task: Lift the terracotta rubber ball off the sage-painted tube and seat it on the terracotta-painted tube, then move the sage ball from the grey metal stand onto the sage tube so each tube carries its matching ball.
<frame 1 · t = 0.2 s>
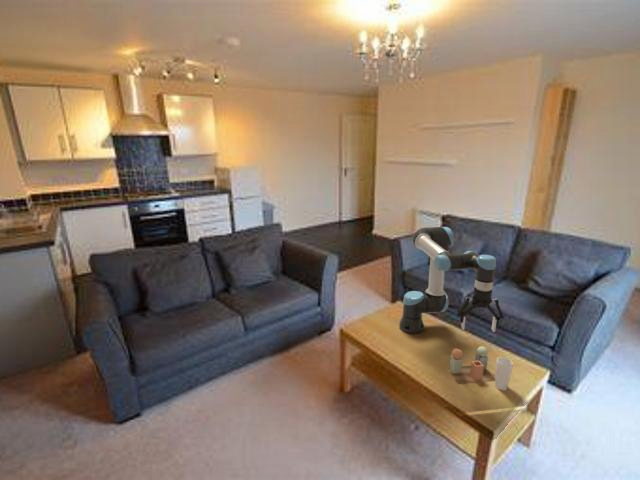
hand: (477, 329, 160), 27 cm above the table, fingers open, 13 cm apart
drinking glass: (500, 388, 159), on the table
sage ball: (481, 355, 169), point 9 cm above the table, touching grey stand
sage tube: (455, 370, 170), resting on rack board
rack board: (470, 375, 168), on the table
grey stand: (480, 368, 171), resting on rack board
terracotta tube: (475, 377, 165), resting on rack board
terracotta ball: (456, 358, 168), point 9 cm above the table, touching sage tube
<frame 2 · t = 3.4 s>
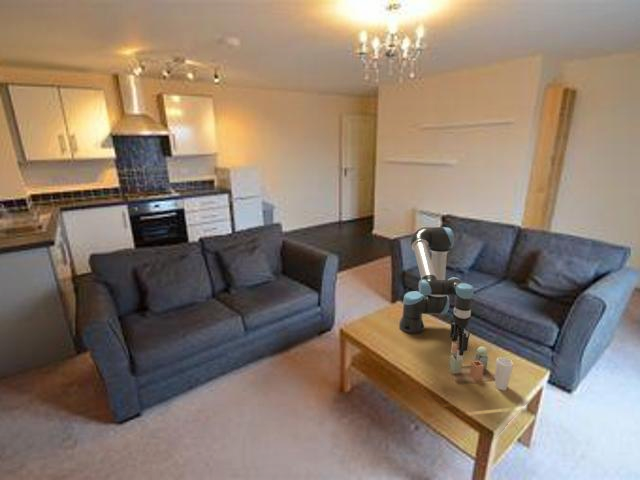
hand: (456, 356, 168), 10 cm above the table, fingers closed on terracotta ball, 5 cm apart
terracotta ball: (457, 351, 167), point 12 cm above the table, touching gripper
everything else where it was.
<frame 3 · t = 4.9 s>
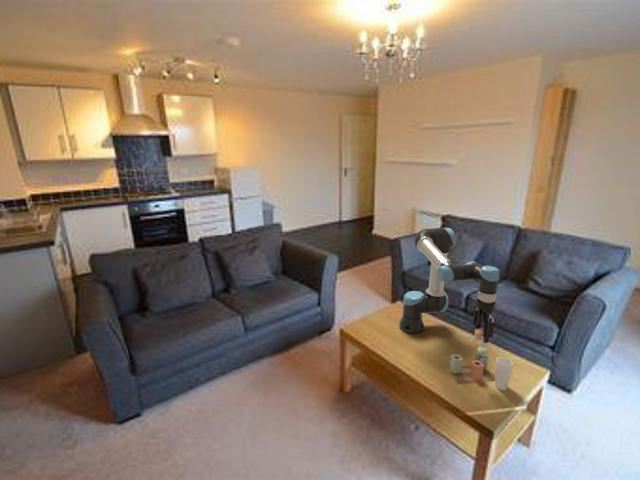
hand: (480, 344, 160), 20 cm above the table, fingers closed on terracotta ball, 5 cm apart
terracotta ball: (480, 339, 159), point 23 cm above the table, touching gripper
everything else where it was.
when the fingers open (7 cm above the table, at t = 7.4 s): terracotta ball drops 1 cm, resting on terracotta tube.
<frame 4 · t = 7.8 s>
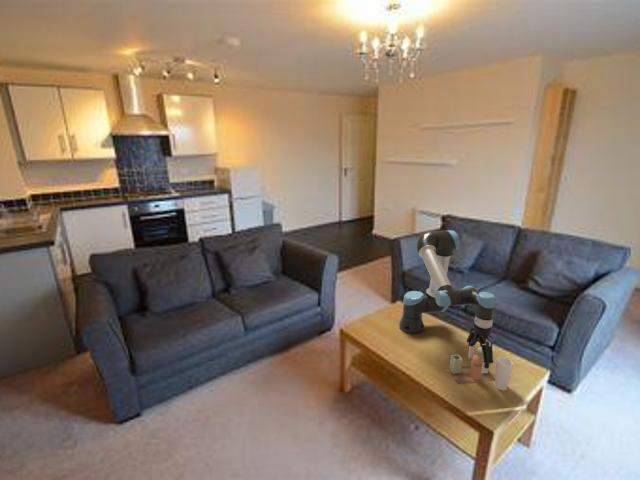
hand: (477, 364, 163), 8 cm above the table, fingers open, 11 cm apart
terracotta ball: (477, 364, 163), point 9 cm above the table, touching terracotta tube
everything else where it was.
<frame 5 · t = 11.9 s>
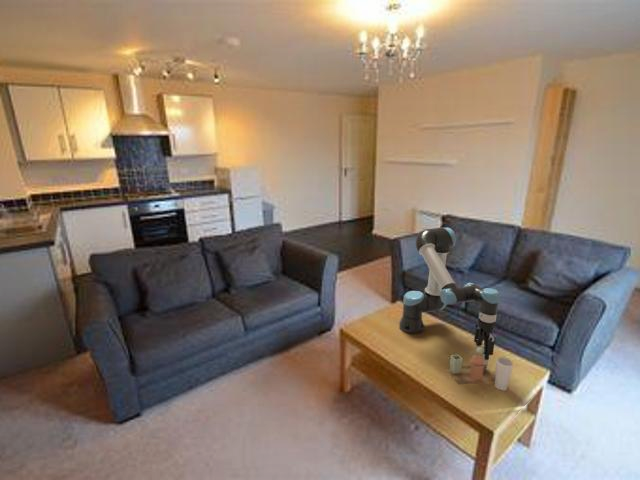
hand: (481, 360, 170), 6 cm above the table, fingers closed on sage ball, 5 cm apart
sage ball: (481, 355, 169), point 9 cm above the table, touching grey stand, gripper
everything else where it was.
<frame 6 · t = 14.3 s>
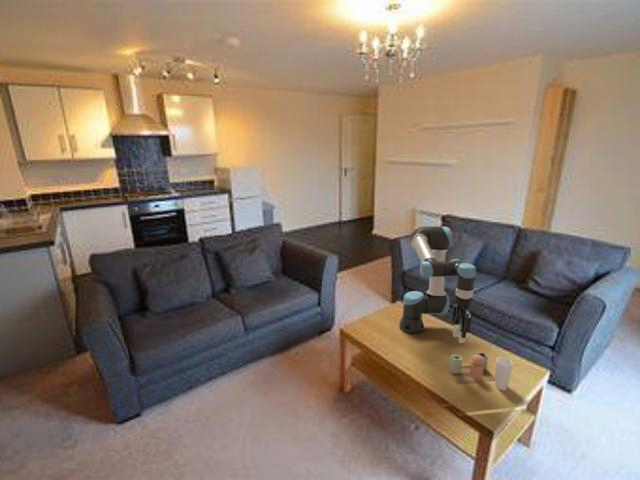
hand: (458, 339, 165), 20 cm above the table, fingers closed on sage ball, 5 cm apart
sage ball: (459, 334, 164), point 22 cm above the table, touching gripper
everything else where it was.
when the fingers open (7 cm above the table, at t = 16.7 s): sage ball drops 1 cm, resting on sage tube.
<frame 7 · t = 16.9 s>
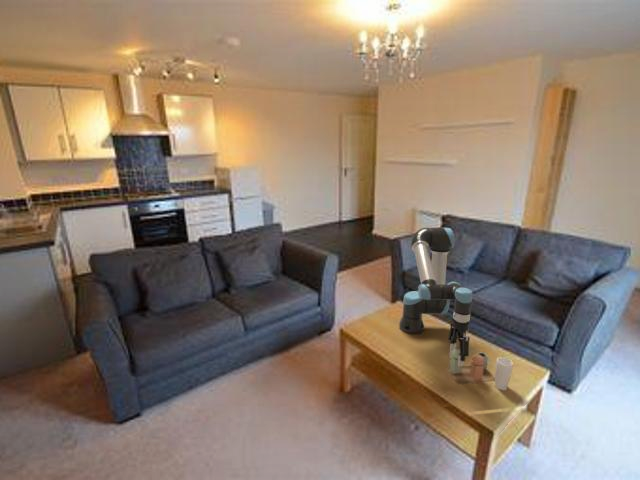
hand: (456, 360, 168), 8 cm above the table, fingers open, 8 cm apart
sage ball: (456, 358, 168), point 9 cm above the table, touching sage tube
everything else where it was.
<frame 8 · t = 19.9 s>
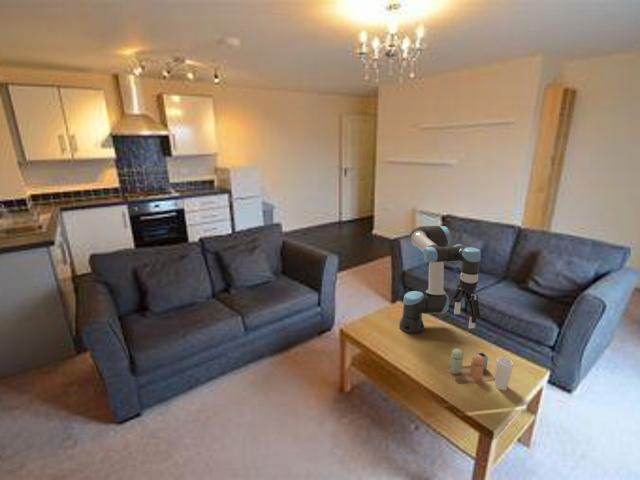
hand: (463, 320, 164), 29 cm above the table, fingers open, 13 cm apart
nothing on the table moved.
at the end: terracotta ball 0.0 cm off-centre on the terracotta tube, point 7.5 cm above the terracotta tube's base; sage ball 0.0 cm off-centre on the sage tube, point 7.5 cm above the sage tube's base; the gripper is holding nothing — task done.
